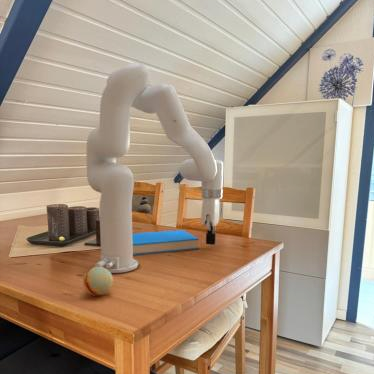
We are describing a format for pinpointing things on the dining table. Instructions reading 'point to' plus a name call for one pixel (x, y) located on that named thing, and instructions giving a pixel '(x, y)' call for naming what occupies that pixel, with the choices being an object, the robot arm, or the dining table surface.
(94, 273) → the ball
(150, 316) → the dining table surface
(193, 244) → the book
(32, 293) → the dining table surface
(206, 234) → the robot arm
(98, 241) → the bookend
